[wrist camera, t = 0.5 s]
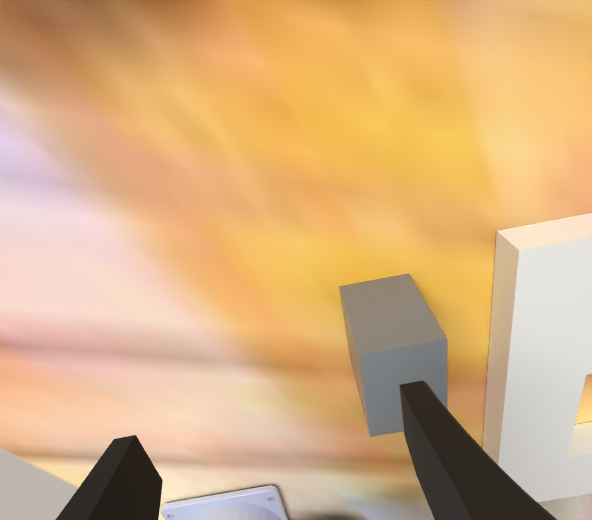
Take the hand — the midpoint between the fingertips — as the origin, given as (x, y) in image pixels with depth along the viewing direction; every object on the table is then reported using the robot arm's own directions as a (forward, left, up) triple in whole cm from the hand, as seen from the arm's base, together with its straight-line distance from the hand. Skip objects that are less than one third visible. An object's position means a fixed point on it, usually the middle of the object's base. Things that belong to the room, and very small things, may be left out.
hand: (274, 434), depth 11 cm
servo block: (-5, -5, -10) cm, 12 cm away
